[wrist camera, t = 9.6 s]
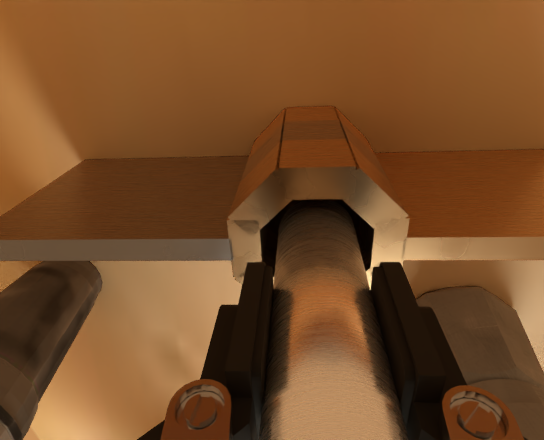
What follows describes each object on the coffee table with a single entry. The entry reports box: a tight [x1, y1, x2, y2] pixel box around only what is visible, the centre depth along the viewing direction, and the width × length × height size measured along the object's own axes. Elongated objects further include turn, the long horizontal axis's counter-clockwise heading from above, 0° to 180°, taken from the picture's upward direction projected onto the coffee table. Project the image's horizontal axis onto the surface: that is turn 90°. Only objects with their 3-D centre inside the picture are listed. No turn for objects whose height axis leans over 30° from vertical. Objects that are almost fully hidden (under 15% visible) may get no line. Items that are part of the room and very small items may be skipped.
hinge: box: [0, 106, 544, 290], centre depth 18 cm, size 28×7×10 cm, turn 93°
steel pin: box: [259, 199, 409, 440], centre depth 10 cm, size 3×3×12 cm
